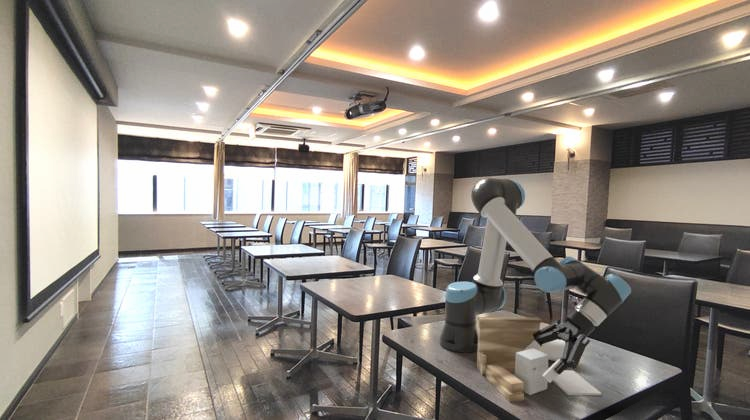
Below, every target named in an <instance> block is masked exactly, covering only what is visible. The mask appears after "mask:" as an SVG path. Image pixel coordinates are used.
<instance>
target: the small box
mask: <svg viewBox="0 0 750 420" xmlns="http://www.w3.org/2000/svg"><path fill="white" fill-rule="evenodd" d="M548 357H549V355H547V354H545V353H543V352H541V351H538V350H536V349H534V348H532V349H528V350H524V351H521V352H517V353H516V360H515V375H514V376H515V377H517V378H518V379H519V380H521V381H522V382H524V390H523V391H522V392H523V393H524V394H526V395H529V396H531V395H534V394H537V393H540V392H542V391H546V390H548V383H549V382H548V381H547V380H546V379H545V378H544V377H543V376H542V375H543V374H544V373H545V372H546V371H547V370H548V369H549V360H548Z"/></svg>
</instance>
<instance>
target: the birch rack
mask: <svg viewBox="0 0 750 420" xmlns="http://www.w3.org/2000/svg"><path fill="white" fill-rule="evenodd" d="M477 321H478V326H477V327H478V328H477V332H478V350H477V353H476V357H477V358H476V368H477V370H478V371H479V373H480V374H481V375H485V376H486V371H487V365H493V364H499V365H500V366H501V367H503V368H504V369H506V370H507V371H508V372H510V373H511V374H513V375H514V376H515V360H516V353H517V352H521V351H524V350H525V349H526V348H527V347H528V345H529V344H531V342H532V341H533V340H534V336H533V334H534V333H535V332H537V331H539V330H541V328H540V326H541V324H542V323H543V319H541V318H540V317H524V316H523V317H520V316H519V317H515V316H514V317H509V316H508V317H507V316H503V317H502V316H500V317H499V316H498V317H497V316H477ZM538 336H539V335H538ZM538 351H539V350H538Z"/></svg>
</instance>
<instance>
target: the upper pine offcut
mask: <svg viewBox="0 0 750 420" xmlns="http://www.w3.org/2000/svg"><path fill="white" fill-rule="evenodd" d="M487 374H489V375H490V376H491V377H492V378H494V379H495V380H496V381H497V382H499V383H500V384H501V385H502V386H504V387H505V388H506V389H507V390H509V391H510V392H511V393H514V392H520V391H522V392H523V390H524V382H522V381H521V380H519V379H518V378H517V377H515V375H513V374H511V373H510V372H508V371H507V370H506V369H504V368H503V367H501V366H500V365H499V364H493V365H487Z"/></svg>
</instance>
